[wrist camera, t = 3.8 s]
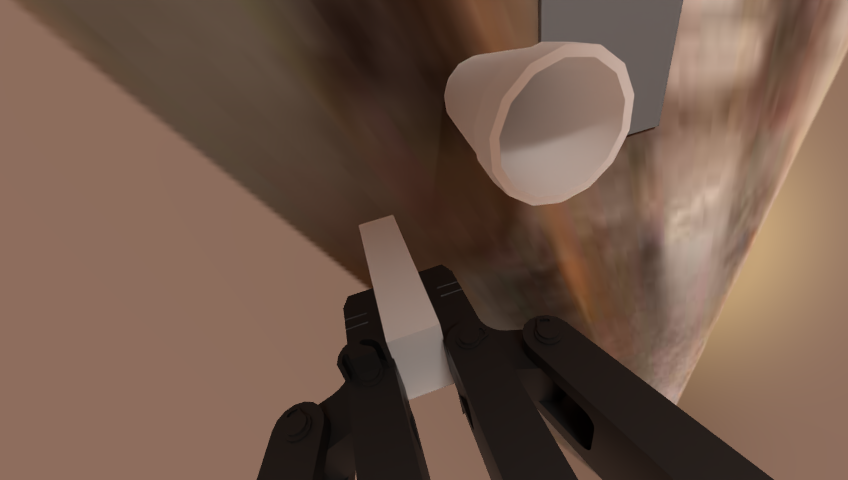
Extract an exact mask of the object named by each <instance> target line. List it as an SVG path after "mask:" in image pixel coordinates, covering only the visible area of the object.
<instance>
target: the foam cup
mask: <svg viewBox="0 0 848 480" xmlns="http://www.w3.org/2000/svg"><path fill="white" fill-rule="evenodd" d="M444 99H445V105H446V112H447V113H448V115H449V116H450V118H451V119H452V121H453V122H454V124H455V125H456V126H457V128H458V129H459V131H460V132H461V133H462V135H463V136H464V138H465V139H466V140H467V142H468V143H469V144H470V146H471V147H472V149H473V150H474V151H475V153H476V154H477V160H478V161H479V163H480V164H481V165H482V167H483V168H484V170H485V171H486V173H487V174H488V175H489V177H490V178H491V180H492V181H493V182H494V183H495V184H496V185H497V186H498V187H499V188H501V189H502V190H503V191H504V192H505V193H506V194H507V195H508V196H511V197H513V198H515V199H518V200H520V201H523V202H525V203H528V204H530V205H532V206H535V205H544V204H553V203H561V202H563V201H565V200H567V199H569V198H570V197H572V196H574V195H576V194H578V193H580V192H581V191H583V190H585V189H587V188H589V187H590V186H591V185H592V184H593V183H594V182H595V181H596V180H597V179H598V177H599V176H600V175H601V174H602V173H603V172H604V171H605V170H606V169H607V168H608V167H609V166H610V165H611V164H612V163H613V161H614V159H615V157H616V155H617V153H618V151H619V149H620V147H621V145H622V144H623V142H624V140H625V138H626V136H627V134H628V132H629V130H630V123H631V115H632V108H633V101H634V92H633V88H632V85H631V82H630V79H629V75H628V72H627V69H626V65H625V63H624V62H622V61H621V60H620V59H619V58H617V57H616V56H615V55H614V54H612V53H611V52H610V51H608V50H607V49H606V48H605V47H603V46H602V45H601V44H591V43H580V42H540V43H538V44H536V45H534V46H533V47H528V48H521V49H514V50H508V51H501V52H494V53H487V54H481V55H476V56H472V57H470V58H469V59H467V60H465V61H463V62H461V63H460V64H458V66H457V67H456V69H455V70H454V71H453V73H452V74H451V75H450V77H449V78H448V81H447V85H446V89H445V93H444Z"/></svg>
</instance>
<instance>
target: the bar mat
mask: <svg viewBox="0 0 848 480" xmlns="http://www.w3.org/2000/svg"><path fill="white" fill-rule="evenodd" d="M682 4H683V0H539V43H540V42H580V43H591V44H601V45H602V46H603V47H605V48H606V49H607V50H608V51H610V52H611V53H612V54H614V55H615V56H616V57H617V58H619V59H620V60H621V61H622V62H624V63H625V65H626V69H627V72H628V75H629V79H630V82H631V85H632V88H633V92H634V101H633V108H632V115H631V123H630V130H629V132H628V134H627V135H629V134H633V133H636V132H639V131H643V130H646V129H649V128H653V127H656V126H659V121H660V116H661V111H662V106H663V101H664V96H665V91H666V85H667V80H668V75H669V70H670V65H671V60H672V55H673V50H674V44H675V39H676V34H677V29H678V24H679V19H680V14H681V9H682Z"/></svg>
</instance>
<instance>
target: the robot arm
mask: <svg viewBox="0 0 848 480" xmlns="http://www.w3.org/2000/svg"><path fill="white" fill-rule="evenodd" d="M359 229H360V234H361V238H362V242H363V246H364V251H365V255H366V259H367V263H368V267H369V272H370V276H371V280H372V284H373V288H372V289H369V290H366V291H363V292H360V293H357V294H354V295H351V296H348V298H347V300H346V303H345V305H344V308H343V309H344V318H345V326H346V335H347V345H346V346H345V347H344V348H343V349H342V351H341V352H340V354H339V356H338V361H337V366H338V368H339V369H340V371H341V373H342V375H343V377H344V379H345V383H344V384H343V385H342V386H341V388H340V389H339V390H338V391H337V392H335V393H334V394H333V395H332V396H330V397H329V398H327V399H326V400H325V401H323V402H322V403H320V404H319V405H317V404H315V403H314V402H302V403H299V404H296V405H294V406H292V407H291V408H290V409H289V410H287V411H285V412H284V413H283V415H282V416H281V417H280V418H279V419H278V420H277V422H276V424H275V427H274V429H273V431H272V434H271V437H270V440H269V443H268V446H267V449H266V452H265V456H264V459H263V462H262V465H261V468H260V471H259V475H258V478H257V480H355V472H356V475H357V480H430V476H429V472H428V468H427V465H426V461H425V457H424V454H423V450H422V446H421V442H420V438H419V434H418V431H417V427H416V423H415V419H414V416H413V414H412V411H411V408H410V405H409V401H408V400H411V399H413V398H416V397H419V396H421V395H424V394H427V393H429V392H432V391H435V390H438V389H440V388H443V387H446V386H448V385H451V384H454V383H455V385H456V388H457V390H458V394H459V399H460V403H461V407H462V411H463V414H464V413H465V415H466V417H467V420H468V422H469V425H470V427H471V430H472V432H473V435H474V437H475V440H476V442H477V445H478V448H479V450H480V453H481V455H482V458H483V460H484V463H485V465H486V468H487V471H488V473H489V476H490V478H491V480H578V479H577V477H576V475H575V473H574V472H573V470H572V468H571V467H570V465H569V463H568V462H567V460H566V458H565V456H564V455H563V453H562V451H561V449H560V448H559V446H558V444H557V443H556V441H555V439H554V437H553V436H552V434H551V432H550V431H549V429H548V427H547V425H546V424H545V422H544V420H543V419H542V417H541V415H540V413H539V412H538V410H539V411H540V412H541V413H542V415H543V416H544V417H545V418H546V419H547V420H548V421H549V422H550V423H551V424H552V425H553V426H554V428H555V429H556V430H557V431H558V432H559V433H560V434H561V435H562V436H563V437H564V438H565V440H566V441H567V442H568V443H569V444H570V445H571V446H572V447H573V448H574V449H575V450H576V451H577V453H578V454H579V455H580V456H581V457H582V458H583V459H584V460H585V461H586V462H587V463H588V464H589V466H590V467H591V468H592V469H593V470H594V471H595V472H596V473H597V474H598V475H599V476H600V477H601V479H602V480H774V479H772V478H771V477H770V476H768V475H767V474H766V473H764V472H763V471H762V470H760V469H759V468H758V467H757V466H755V465H754V464H753V463H751V462H750V461H749V460H747V459H746V458H745V457H743V456H742V455H741V454H739V453H738V452H737V451H735V450H734V449H733V448H732V447H730V446H729V445H727V444H726V443H725V442H723V441H722V440H721V439H720V438H718V437H717V436H716V435H714V434H713V433H711V432H710V431H709V430H708V429H706V428H705V427H704V426H702V425H701V424H700V423H699V422H697V421H696V420H694V419H693V418H692V417H691V416H689V415H688V414H687V413H685V412H684V411H683V410H681V409H680V408H679V407H677V406H676V405H675V404H673V403H672V402H671V401H670V400H668V399H667V398H666V397H664V396H663V395H662V394H660V393H659V392H658V391H656V390H655V389H654V388H652V387H651V386H650V385H648V384H647V383H646V382H644V381H643V380H642V379H641V378H639V377H638V376H637V375H635V374H634V373H633V372H631V371H630V370H629V369H627V368H626V367H625V366H623V365H622V364H621V363H619V362H618V361H617V360H615V359H614V358H613V357H612V356H610V355H609V354H608V353H606V352H605V351H604V350H602V349H601V348H600V347H598V346H597V345H596V344H594V343H593V342H592V341H590V340H589V339H588V338H586V337H585V336H584V335H582V334H581V333H580V332H579V331H577V330H576V329H575V328H573V327H572V326H571V325H569V324H568V323H567V322H565V321H563V320H561V319H560V318H558V317H553V316H549V315H545V316H537V317H534V318H532V319H530V320H529V321H528V322H527V323H526V324H525V325H524V328H523V330H509V331H503V330H496V329H492V328H490V327H488V326H486V325H485V324H483V323H482V322H481V321H480V319H479V318H478V316H477V315H476V313H475V311H474V309H473V308H472V306H471V304H470V302H469V301H468V299H467V297H466V295H465V294H464V292H463V290H462V288H461V286H460V285H459V283H458V282H457V279H456V278H455V276H454V274H453V272H452V271H451V270H449V269H448V268H446V267H445V266H443V265H439V266H436V267H433V268H430V269H427V270H424V271H421V272H417V269H416V267H415V265H414V262H413V260H412V258H411V255H410V253H409V251H408V248H407V246H406V244H405V241H404V239H403V237H402V234H401V232H400V230H399V227H398V225H397V223H396V221H395V218H394V216H393V215H390V216H387V217H383V218H380V219H377V220H374V221H370V222H367V223H364V224H361V225H359ZM537 409H538V410H537Z"/></svg>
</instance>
